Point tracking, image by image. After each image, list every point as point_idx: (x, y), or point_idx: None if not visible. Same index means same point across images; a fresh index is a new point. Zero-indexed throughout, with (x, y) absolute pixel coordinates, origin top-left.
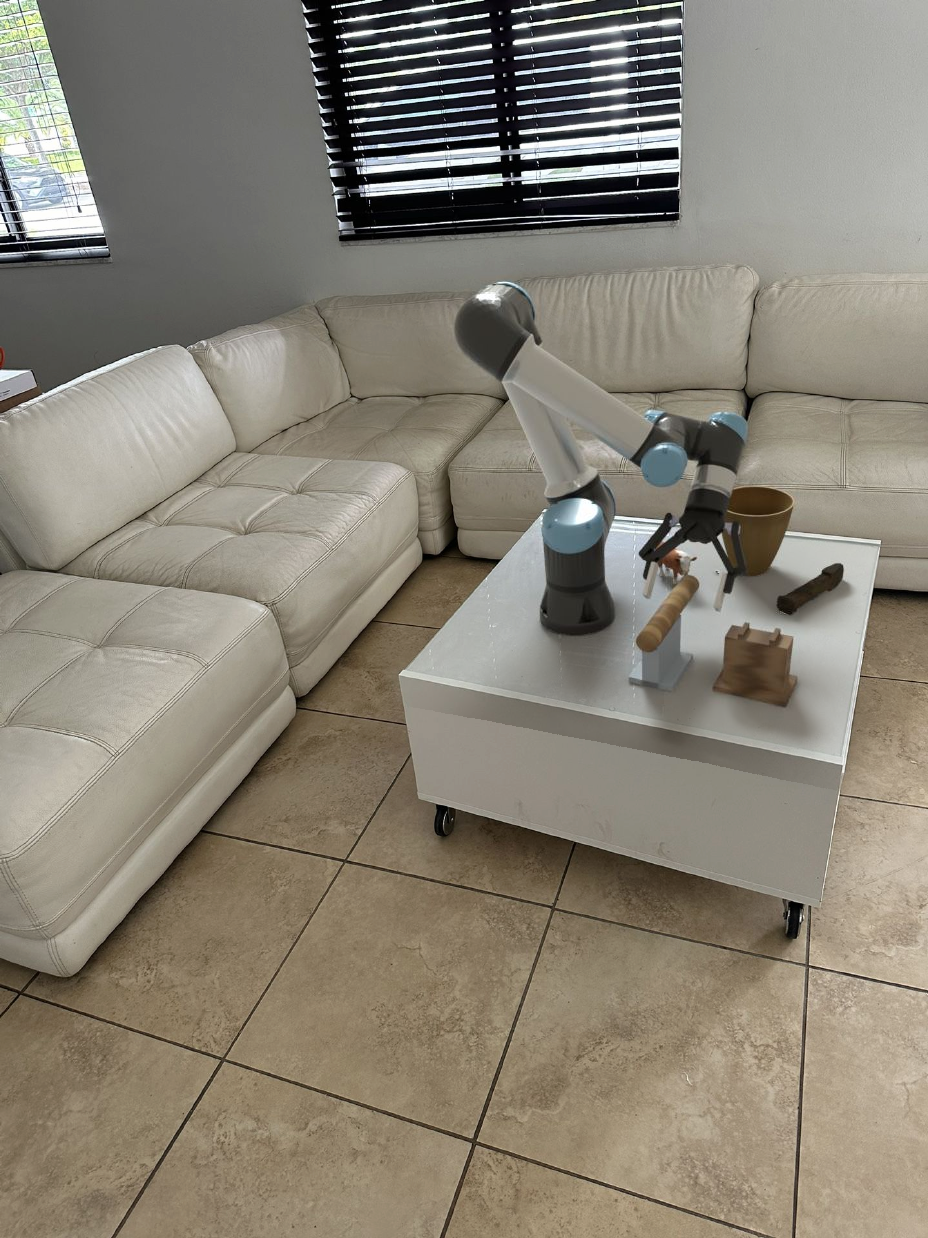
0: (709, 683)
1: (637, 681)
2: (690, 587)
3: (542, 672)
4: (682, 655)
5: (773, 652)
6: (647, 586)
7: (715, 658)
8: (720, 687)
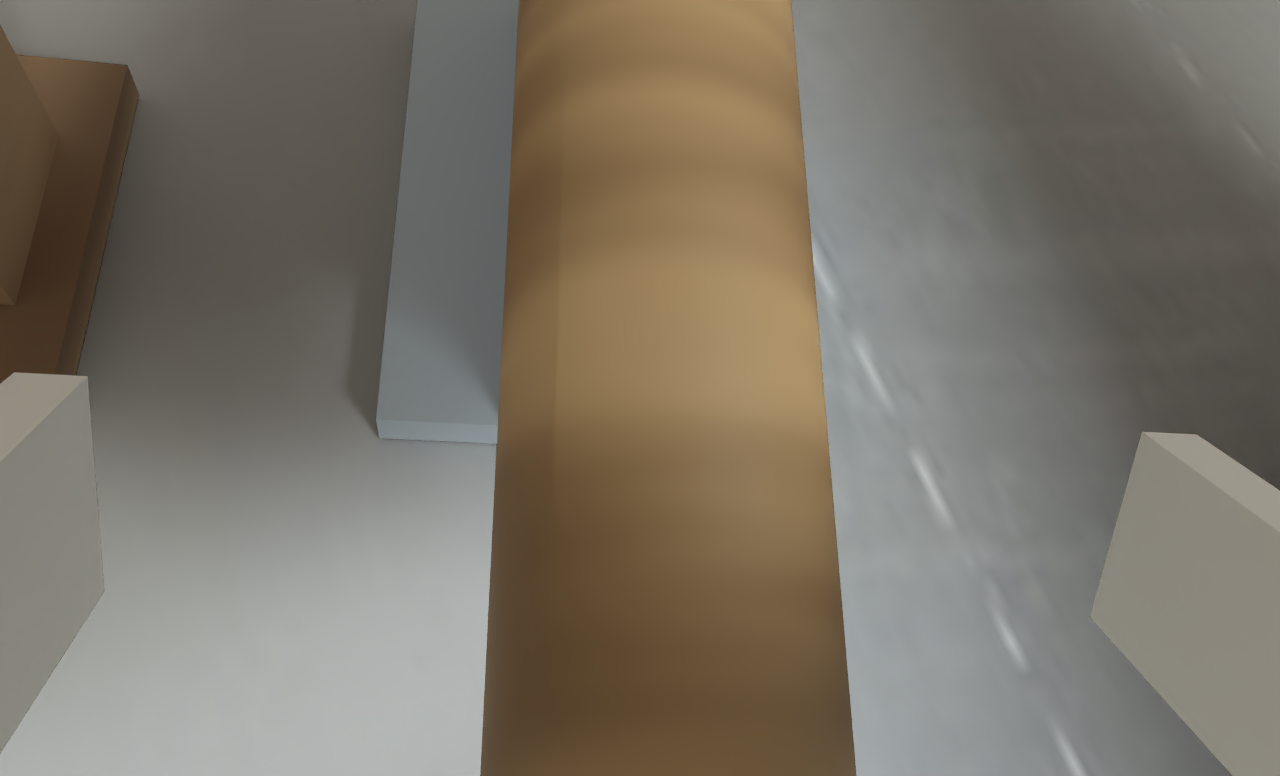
0: (177, 167)
1: None
2: (549, 543)
3: (1257, 15)
4: (465, 370)
5: None
6: (1238, 490)
7: (185, 508)
8: (63, 59)
